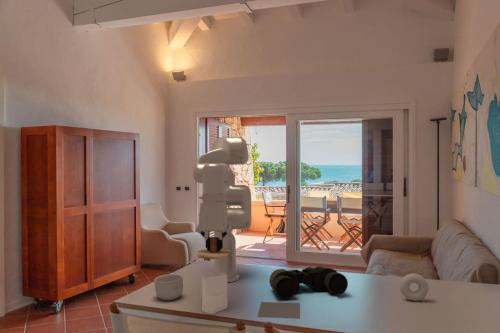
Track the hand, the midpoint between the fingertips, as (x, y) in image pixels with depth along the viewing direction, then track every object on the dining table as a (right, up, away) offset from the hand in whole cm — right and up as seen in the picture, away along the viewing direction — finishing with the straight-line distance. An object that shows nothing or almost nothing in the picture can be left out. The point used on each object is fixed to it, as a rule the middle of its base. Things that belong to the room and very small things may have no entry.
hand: (214, 249), depth 139 cm
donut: (+73, -20, +6) cm, 77 cm away
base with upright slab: (0, -21, 0) cm, 21 cm away
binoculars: (+34, -21, +18) cm, 44 cm away
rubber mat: (+23, -21, -4) cm, 31 cm away
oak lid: (0, -2, 0) cm, 2 cm away
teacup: (-18, -21, +14) cm, 31 cm away
